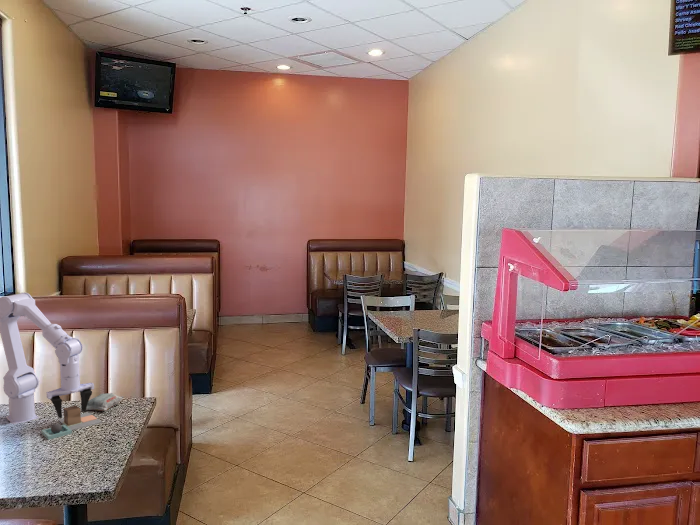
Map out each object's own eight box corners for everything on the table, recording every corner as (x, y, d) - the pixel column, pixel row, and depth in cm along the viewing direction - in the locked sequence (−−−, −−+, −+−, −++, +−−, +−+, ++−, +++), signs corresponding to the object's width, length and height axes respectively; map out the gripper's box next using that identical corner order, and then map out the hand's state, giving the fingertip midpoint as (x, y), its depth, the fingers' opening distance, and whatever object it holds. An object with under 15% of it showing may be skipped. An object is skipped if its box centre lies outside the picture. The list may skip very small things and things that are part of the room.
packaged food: (123, 403, 209) (123, 391, 209) (105, 415, 198) (104, 402, 197) (102, 402, 211) (102, 390, 210) (83, 414, 199) (82, 400, 199)
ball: (49, 433, 180) (49, 423, 180) (60, 430, 183) (59, 421, 182) (52, 436, 178) (52, 426, 178) (63, 433, 180) (63, 423, 180)
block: (64, 422, 188) (63, 408, 188) (76, 419, 191) (75, 405, 190) (68, 425, 185) (67, 411, 185) (80, 422, 188) (80, 408, 188)
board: (58, 422, 191) (58, 419, 191) (88, 414, 198) (88, 411, 198) (70, 432, 182) (70, 429, 182) (101, 424, 189) (101, 421, 189)
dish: (41, 434, 180) (41, 430, 180) (64, 428, 185) (64, 424, 185) (48, 441, 175) (48, 436, 175) (71, 435, 180) (71, 430, 180)
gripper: (50, 382, 179) (52, 423, 180) (96, 373, 189) (98, 411, 190) (43, 377, 184) (45, 417, 185) (89, 368, 194) (90, 406, 195)
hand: (71, 414), depth 188 cm, fingers open, 7 cm apart
